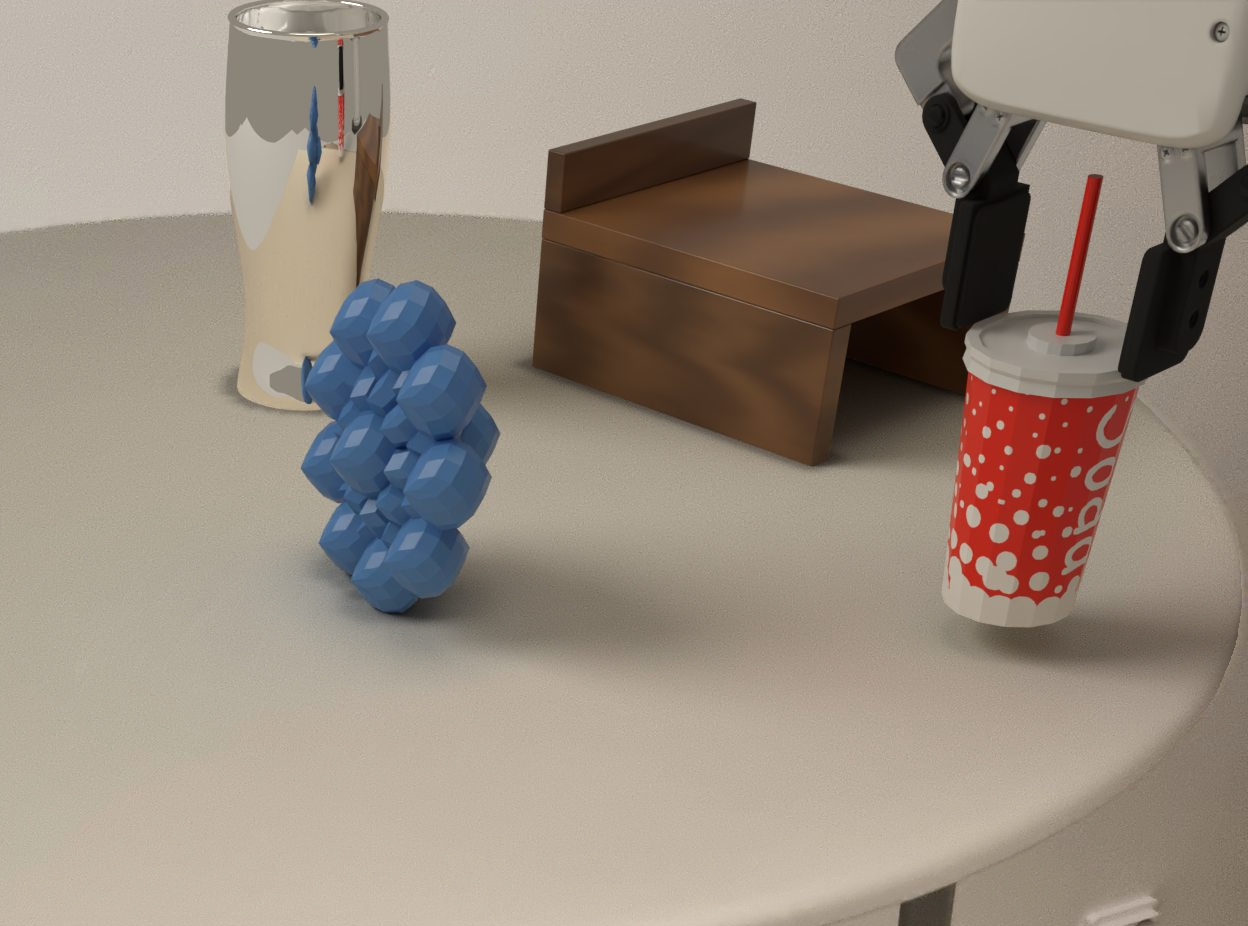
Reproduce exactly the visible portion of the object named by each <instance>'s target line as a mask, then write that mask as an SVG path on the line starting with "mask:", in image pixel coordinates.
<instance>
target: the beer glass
mask: <svg viewBox="0 0 1248 926" xmlns="http://www.w3.org/2000/svg"><path fill="white" fill-rule="evenodd" d="M389 22H390V15H389V14H388V12H387V11H385V10H384V9H383V8H381V7H379V6H377V5H373V4H372V3H371V4H370V3H366V2H362V1H357V0H255V1H251V2H247V3H243V4H240V5H238V6H236V7H234V8H233V9H231V10H229V12H228V14H227V39H226V40H227V41H226V55H225V56H226V57H225V73H224V90H223V141H224V162H225V163H224V165H225V172H226V180H227V181H226V182H227V188H228V197H229V203H230V208H231V215H232V220H233V227H234V233H235V239H236V244H237V250H238V255H239V261H240V262H239V263H240V269H241V274H242V282H243V289H244V304H245V305H244V306H245V307H244V308H245V316H244V319H245V320H244V321H245V322H244V323H245V324H244V335H243V343H242V349H241V355H240V361H239V367H238V374H237V382H236V389H237V391H238V392H239V394H240V395H241V396H242V397H244V398H245V399H246V400H248V401H250V402H253V403H254V404H257V405H261V406H265V407H269V408H273V409H279V410H286V411H287V410H288V411H302V412H303V411H306V412H308V411H310V412H311V411H322V410H321V408H320V407H319V406H318V405H317V404H316V403H315V402H314V400H313V399H312V398H311V396H310V395H309V393H308V391H307V390H306V388H305V387H304V385H305V383H306V380H307V378H308V375H309V373H310V371H311V369H312V367H313V365H314V364H315V362H316V360H317V358H318V356H319V355H320V353H321V352H322V351H323V350H324V349H325V348H326V347H327V346H328V345H329V344H330V343H331V342H332V341H333V340H334V339H333V337H332V336H331V334H330V329H331V327H332V324H333V322H334V319H335V317H336V315H337V313H338V312H339V310H340V308H341V306H342V304H343V302H344V301H345V299H346V298H347V297H348V295H349V294H350V293H351V292H353V291H354V290H355V289H356V288H357V287H358V286H359V285H360V284H361V283H362V282H365V281H369V280H370V273H371V268H372V262H373V257H374V251H375V246H376V242H377V236H378V230H379V225H380V220H381V215H382V210H383V205H384V204H383V203H384V198H385V193H386V184H387V178H388V170H389V163H390V150H391V149H390V148H391V134H392V133H391V132H392V126H391V125H392V87H391V85H392V84H391V83H392V82H391V81H392V80H391V60H390V57H391V56H390V39H389V37H390V36H389V35H390V33H389Z"/></svg>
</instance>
